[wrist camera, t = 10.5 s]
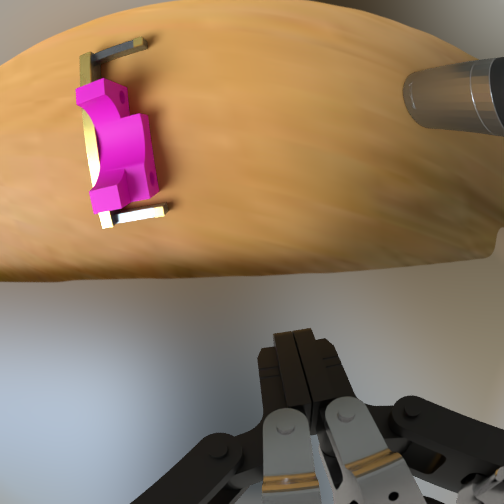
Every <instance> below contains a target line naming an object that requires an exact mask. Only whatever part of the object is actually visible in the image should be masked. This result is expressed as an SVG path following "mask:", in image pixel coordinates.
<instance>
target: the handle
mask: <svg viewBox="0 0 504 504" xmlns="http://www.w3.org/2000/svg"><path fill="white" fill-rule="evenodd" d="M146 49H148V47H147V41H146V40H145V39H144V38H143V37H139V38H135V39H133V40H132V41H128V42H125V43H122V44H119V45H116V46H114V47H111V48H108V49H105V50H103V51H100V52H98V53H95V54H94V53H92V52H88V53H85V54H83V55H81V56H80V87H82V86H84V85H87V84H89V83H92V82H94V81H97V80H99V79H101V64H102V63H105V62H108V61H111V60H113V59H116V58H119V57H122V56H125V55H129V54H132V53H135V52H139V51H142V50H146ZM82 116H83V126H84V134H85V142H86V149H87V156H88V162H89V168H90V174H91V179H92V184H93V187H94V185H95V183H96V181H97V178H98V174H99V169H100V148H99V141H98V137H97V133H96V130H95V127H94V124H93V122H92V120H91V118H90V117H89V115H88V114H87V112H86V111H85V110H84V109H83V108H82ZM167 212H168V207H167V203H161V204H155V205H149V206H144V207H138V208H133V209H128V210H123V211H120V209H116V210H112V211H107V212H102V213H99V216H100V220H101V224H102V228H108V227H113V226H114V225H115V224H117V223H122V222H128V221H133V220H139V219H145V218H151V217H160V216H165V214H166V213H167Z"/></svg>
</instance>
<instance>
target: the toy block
mask: <svg viewBox="0 0 504 504" xmlns="http://www.w3.org/2000/svg"><path fill="white" fill-rule="evenodd" d="M76 103H77V105H78V106H80V107H82V108H83V109H84V110H85V111H86V112H87V114H88V115H89V117H90V118H91V120H92V122H93V124H94V127H95V130H96V133H97V137H98V141H99V148H100V169H99V174H98V178H97V181H96V183H95V185H94V187H93V188H92V189H91V190H90V191H89V194H90V198H91V203H92V207H93V212H94V214H97V213H102V212H107V211H112V210H116V209H121V208H123V207H125V206H126V205H127V204H129V203H130V202H134V201H139V200H145V199H150V198H151V197H153V196H154V195H155V194H157V193H158V192H159V187H158V181H157V175H156V169H155V163H154V156H153V149H152V142H151V135H150V127H149V119H148V115H145V114H141V113H139V114H135V115H131V116H130V112H129V102H128V91H127V87H125V86H122V85H120V84H117V83H115V82H113V81H110V80H107V79H105V78H102V79H99V80H97V81H94V82H92V83H89V84H87V85H84V86H82V87H79V88H77V89H76Z"/></svg>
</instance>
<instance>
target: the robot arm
mask: <svg viewBox="0 0 504 504" xmlns="http://www.w3.org/2000/svg"><path fill="white" fill-rule="evenodd" d="M403 96H404V101H405V104H406V107H407V109H408V111H409V113H410V115H411V116H412V118H413V119H414V120H415V121H416V122H417V123H418V124H420V125H421V126H423V127H426V128H432V129H445V130H456V131H466V132H475V133H482V134H489V135H496V136H503V137H504V57H501V58H491V59H483V60H476V61H469V62H463V63H457V64H451V65H446V66H441V67H436V68H431V69H426V70H422V71H418V72H414V73H412V74H410V75H409V76H408V77H407V79H406V81H405V83H404V88H403ZM273 341H274V347H268V348H262V349H261V351H260V353H259V356H258V358H257V359H258V368H259V377H260V385H261V394H262V403H263V417H262V420H261V421H260V423H259V424H258V425H257V426H256V427H255V428H253V429H252V430H250V431H248V432H246V433H243V434H240V435H237V436H235V437H234V436H232V435H230V434H226V433H214V434H210V435H208V436H206V437H204V438H203V439H202V440H201V441H200V442H199V443H198V444H197V445H196V446H195V447H194V448H193V449H192V450H191V451H190V452H189V453H187V454H186V455H185V456H184V457H183V458H182V459H181V460H180V461H179V462H178V463H177V464H176V465H175V466H174V467H172V468H171V469H170V470H169V471H168V472H167V473H166V474H165V475H164V476H162V477H161V478H160V479H159V480H158V481H157V482H156V483H154V484H153V485H152V486H151V487H150V488H148V489H147V490H146V491H145V492H144V493H142V494H141V495H140V496H139V497H138V498H137V499H135V500H134V501H133V502H131V503H130V504H234V503H235V502H236V501H237V500H238V499H239V498H240V496H241V495H242V494H243V493H244V492H245V491H246V490H247V488H248V487H249V486H250V485H252V484H255V483H258V482H260V481H263V484H262V504H321V495H320V488H319V483H318V480H317V477H316V475H315V468H314V460H313V453H312V445H311V438H310V435H315V434H317V436H318V439H319V443H320V444H319V453H320V456H321V459H322V462H323V465H324V468H325V471H326V474H327V476H328V479H329V482H330V485H331V488H332V491H333V501H334V504H444V503H442V502H440V501H437V500H435V499H433V498H430V497H426V496H423V495H422V493H421V491H420V489H419V487H418V485H417V483H416V481H415V479H414V477H413V476H415V477H418V478H420V479H422V480H425V481H427V482H430V483H432V484H434V485H437V486H439V487H442V488H445V489H447V490H450V491H453V492H456V493H458V498H457V504H504V430H503V429H500V428H497V427H494V426H491V425H489V424H486V423H483V422H480V421H478V420H475V419H472V418H470V417H467V416H464V415H461V414H459V413H457V412H454V411H451V410H449V409H447V408H444V407H442V406H439V405H437V404H434V403H432V402H430V401H427V400H425V399H422V398H420V397H417V396H405V397H403V398H401V399H399V400H398V401H397V402H396V403H395V404H394V406H372V405H368V404H365V403H363V402H362V401H361V400H359V399H358V398H357V397H356V396H355V394H354V392H353V389H352V387H351V385H350V382H349V380H348V377H347V375H346V373H345V371H344V368H343V366H342V365H341V361H340V359H339V357H338V354H337V352H336V350H335V347H334V345H332V344H331V343H330V342H329V341H328V340H327V339H325V338H324V339H318V340H315V337H314V335H313V332H312V330H311V328H307V329H302V330H296V331H292V332H291V331H289V332H283V333H275V334H273Z"/></svg>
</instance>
